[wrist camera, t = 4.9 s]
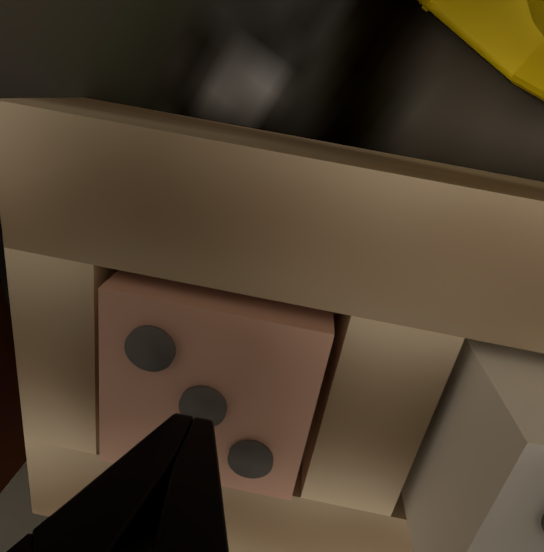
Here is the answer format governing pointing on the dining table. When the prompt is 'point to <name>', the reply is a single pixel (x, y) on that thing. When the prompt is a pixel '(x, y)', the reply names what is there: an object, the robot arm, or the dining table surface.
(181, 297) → the tile three
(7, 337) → the hardcover book
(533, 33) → the watch
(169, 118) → the board
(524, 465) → the tile two
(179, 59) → the dining table surface
